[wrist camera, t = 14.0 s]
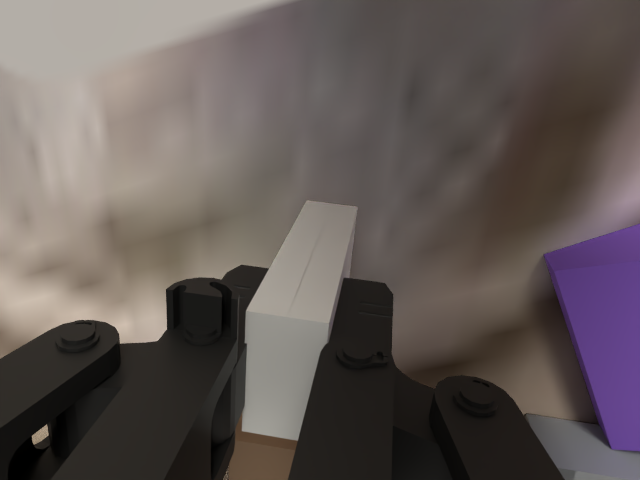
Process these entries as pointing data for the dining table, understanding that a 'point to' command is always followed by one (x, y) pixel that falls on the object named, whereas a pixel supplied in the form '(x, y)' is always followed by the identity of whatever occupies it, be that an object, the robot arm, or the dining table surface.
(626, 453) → the tray
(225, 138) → the dining table surface
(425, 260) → the dining table surface
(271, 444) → the dowel block
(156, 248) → the dining table surface
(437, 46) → the dining table surface
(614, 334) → the bracket
